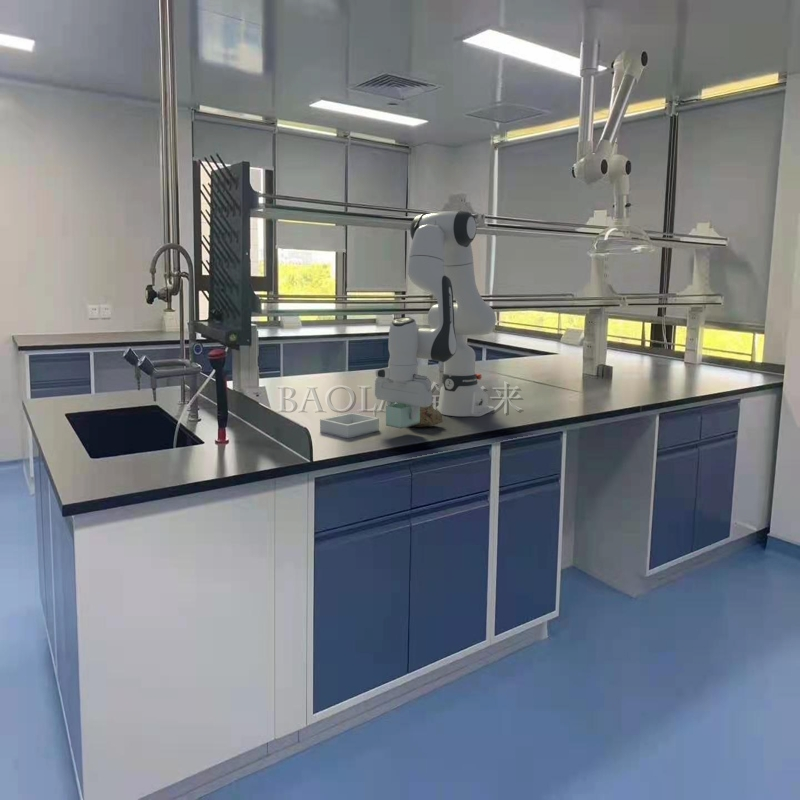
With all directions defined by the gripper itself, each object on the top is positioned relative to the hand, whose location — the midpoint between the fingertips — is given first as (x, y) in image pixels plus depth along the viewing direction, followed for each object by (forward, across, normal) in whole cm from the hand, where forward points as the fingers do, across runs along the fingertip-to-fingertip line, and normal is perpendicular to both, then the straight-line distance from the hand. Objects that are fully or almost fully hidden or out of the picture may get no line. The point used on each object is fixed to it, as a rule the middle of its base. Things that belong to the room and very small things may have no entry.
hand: (403, 417), depth 203 cm
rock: (+6, +5, -14) cm, 16 cm away
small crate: (+2, 0, 0) cm, 2 cm away
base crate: (+5, +15, +8) cm, 18 cm away
